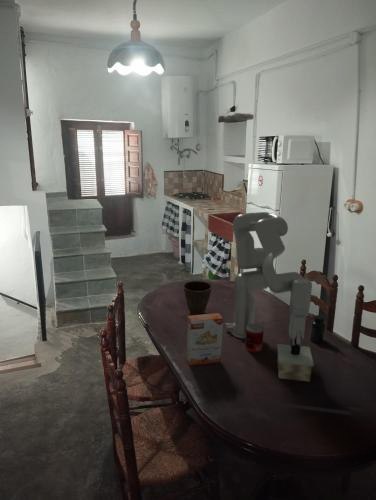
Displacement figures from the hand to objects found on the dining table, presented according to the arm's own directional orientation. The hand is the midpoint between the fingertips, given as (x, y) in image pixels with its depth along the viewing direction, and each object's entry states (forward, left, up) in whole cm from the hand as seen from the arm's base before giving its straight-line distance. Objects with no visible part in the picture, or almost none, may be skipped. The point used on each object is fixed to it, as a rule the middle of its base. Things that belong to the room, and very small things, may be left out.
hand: (294, 351), depth 155 cm
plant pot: (-47, +49, -10) cm, 69 cm away
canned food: (-16, +16, -10) cm, 25 cm away
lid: (0, 0, -2) cm, 2 cm away
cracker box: (-37, +2, -10) cm, 38 cm away
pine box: (0, 0, -10) cm, 10 cm away
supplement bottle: (+14, +31, -10) cm, 36 cm away
